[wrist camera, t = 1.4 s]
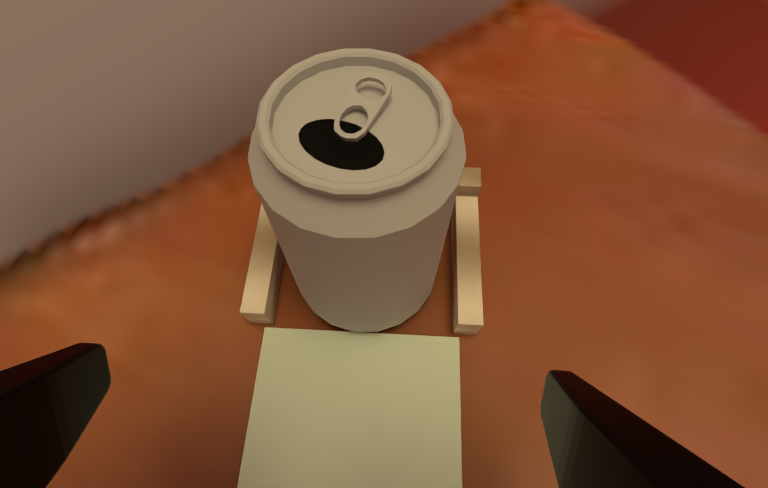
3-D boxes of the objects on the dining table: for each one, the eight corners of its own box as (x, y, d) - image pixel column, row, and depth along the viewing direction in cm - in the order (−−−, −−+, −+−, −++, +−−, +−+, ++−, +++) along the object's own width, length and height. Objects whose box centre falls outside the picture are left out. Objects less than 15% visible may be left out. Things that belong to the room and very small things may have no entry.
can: (271, 299, 23) (180, 148, 13) (340, 195, 27) (313, 7, 16) (398, 363, 22) (414, 250, 11) (455, 244, 25) (509, 70, 14)
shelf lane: (475, 335, 23) (487, 319, 20) (251, 323, 23) (233, 306, 20) (470, 197, 26) (480, 168, 24) (276, 188, 27) (264, 158, 24)
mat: (462, 575, 18) (464, 578, 18) (227, 560, 19) (224, 562, 18) (457, 339, 23) (459, 337, 22) (266, 329, 23) (264, 327, 23)
